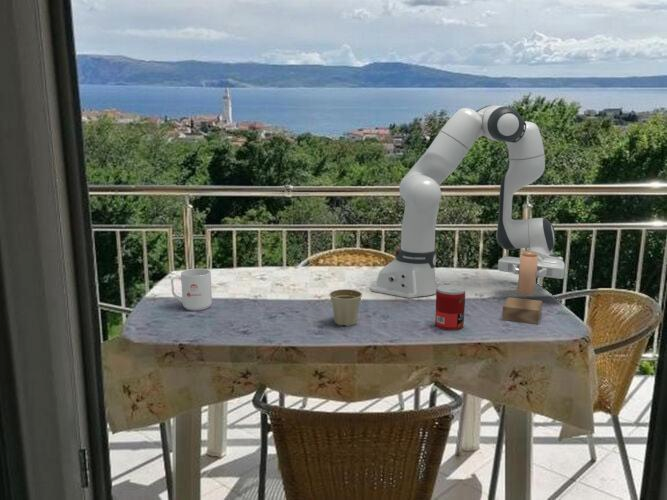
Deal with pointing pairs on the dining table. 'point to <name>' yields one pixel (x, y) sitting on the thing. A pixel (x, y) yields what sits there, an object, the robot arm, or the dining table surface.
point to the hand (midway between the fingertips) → (527, 273)
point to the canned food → (450, 307)
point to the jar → (527, 273)
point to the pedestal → (522, 310)
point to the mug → (195, 289)
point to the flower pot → (345, 306)
